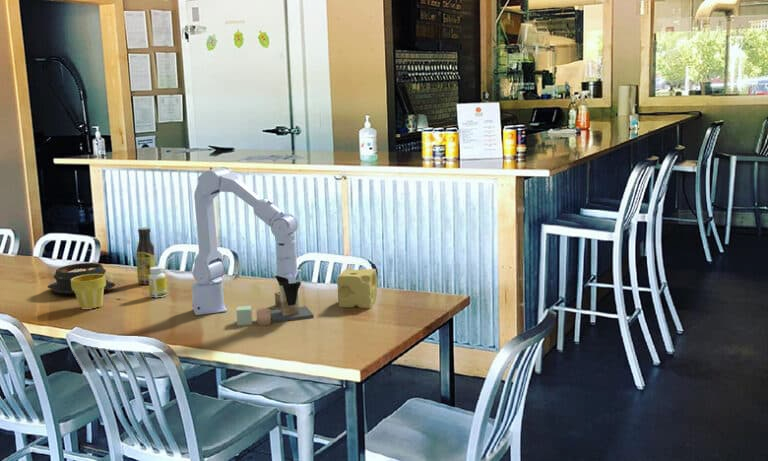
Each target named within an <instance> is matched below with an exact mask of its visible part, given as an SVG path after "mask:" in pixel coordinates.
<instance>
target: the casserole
mask: <svg viewBox="0 0 768 461" xmlns="http://www.w3.org/2000/svg"><path fill="white" fill-rule="evenodd" d="M106 272H107V269H105V268H104V266H103V264H101V263H96V262H82V263H74V264H73V263H72V264H68V265H64V266H61V267H59V268H57V269H56V270H55V273H54V275H53V277H52V278H54V280H55V281H56V282H54V283H50V284H48V285H47V289H51V290H52V291H53V292H55V293H60V294H64V293H65V294H64V295H68V294H75V292H74V291H73V290H72V287H71V279H72V278H74V277H77V276H81V275H87V274H103V275H105V273H106ZM115 286H116V283H114V282H111V281H109V280H107V279H106V286H105V287H104V291H106V290H109V289H112V288H113V287H115Z"/></svg>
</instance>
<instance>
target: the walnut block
mask: <svg viewBox="0 0 768 461" xmlns="http://www.w3.org/2000/svg"><path fill="white" fill-rule="evenodd" d="M274 302H275V303H274V304H275V306H276V307H278V308H280V309H281V300H280V291H278V292H274Z"/></svg>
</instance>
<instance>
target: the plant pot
mask: <svg viewBox="0 0 768 461" xmlns="http://www.w3.org/2000/svg"><path fill="white" fill-rule="evenodd" d="M106 280H107V279H106V276H105V274H104V275H103V274H87V275H81V276H77V277H74V278H72V279H71V287H72V290H73V291H74V292H75V294H76V295H75V297H76V300H77V302H78V306H79V307H81V308H96V307H99V308H101V307H103V303H104V292H105V290H104V287H105V286H106ZM100 306H101V307H100ZM81 308H80V309H81ZM96 309H97V308H96Z"/></svg>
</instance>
